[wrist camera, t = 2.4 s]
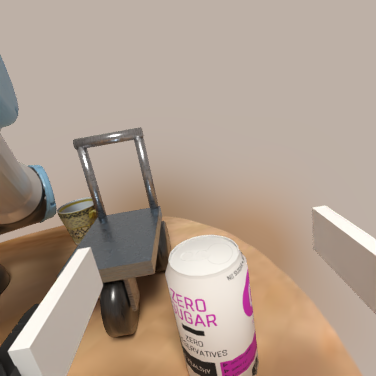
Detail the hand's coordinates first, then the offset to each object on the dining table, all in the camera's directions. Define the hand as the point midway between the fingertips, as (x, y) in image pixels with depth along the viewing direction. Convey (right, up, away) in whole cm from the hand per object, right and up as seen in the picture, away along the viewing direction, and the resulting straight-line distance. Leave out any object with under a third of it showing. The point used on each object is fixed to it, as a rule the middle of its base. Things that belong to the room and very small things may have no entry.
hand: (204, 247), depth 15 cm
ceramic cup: (-25, -10, +51) cm, 58 cm away
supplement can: (+3, -17, +15) cm, 23 cm away
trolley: (-10, -15, +29) cm, 34 cm away
